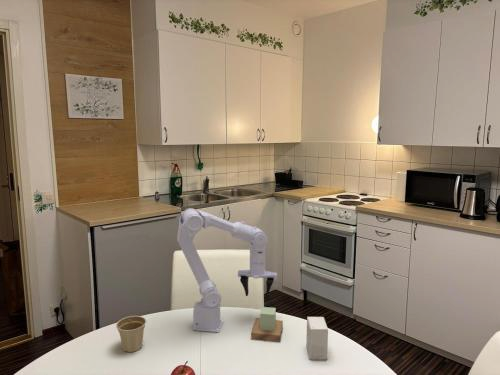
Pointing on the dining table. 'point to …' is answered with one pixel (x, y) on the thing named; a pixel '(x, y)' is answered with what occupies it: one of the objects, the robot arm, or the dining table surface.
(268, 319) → the sage block
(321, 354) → the small box
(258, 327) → the walnut pad
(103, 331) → the dining table surface
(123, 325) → the flower pot
